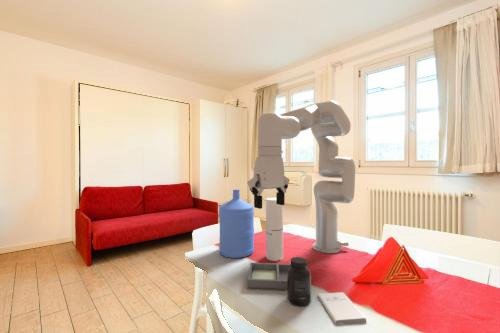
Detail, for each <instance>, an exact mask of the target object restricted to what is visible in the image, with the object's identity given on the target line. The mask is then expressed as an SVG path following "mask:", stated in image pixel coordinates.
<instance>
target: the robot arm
mask: <svg viewBox="0 0 500 333" xmlns="http://www.w3.org/2000/svg"><path fill="white" fill-rule="evenodd" d="M257 123H258V124H257V130H258V132H257V143H258V144H257V147H258V148H257V149H258V150H257V153H258V154H257V157H255V161H254V166H253V177H252V178H251V179H249V180H248V181H247V183H246V184H247V185H248V188H249V191H250V192H251V194H252V195H253V208H255V209H260V210H261V209H263V195H262V194H263V192H264V190H269V189H270V190H272V189H275V190H276V191H277V192H276V196H275V198H276V203H277V204H279V205H283V206H285V202H286V201H285V199H286V198H285V197H286V196H285V194H286V193H287V189H288V188H289V183H290V178H288V177H286V176H285V166H284V158H283V157H282V154H283V150H282V148H283V147H282V141H283V140H289V139H295V138H296V137H298V135H299V134H300V133H301V132H303V131H307V130H308V129H310V130H311V133H312V135H313V136H314V138H315V140H316V142H317V144H318V150H319V151H318V166H317V167H318V174H319V176H321V177H323V178H327V179H329V178H330V179H332V178H333V179H341V181H340V180H339V181H338V180H319V181H317V182H316V183H315V184H314V186H313V195H314V200H315V242H314V243H313V244H312V249H313V250H314V251H316V252H319V253H323V254H337V253H339V252H341V250H342V248H341V247H349V245H350V244H349V242H348V241H344V240H343V239H342V240H339V239H338V209H337V207H336V206H335V203H339V204H340V203H341V204H350V203H352V202H353V201H354V198H355V187H356V165H355V161H354V159H353V158H351V157H349V156H348V157H347V156H339V144H338V143H337V141H336V140H335V139H334V137H344V136H347V135H348V134H350V131H351V121H350V119H349V116H348V115H347V113H346V112H345V110H344V109H343V107H342V105H340V104H339V103H338V102H337V101H335V100H328V101H321V102H316V103H312V104H311V103H310V104H309V105H306V106H303V107H301V108H298V109H294V110H291V111H288V112H283V113H281V114H278V113H273V112H271V113H263V114H261V115H259V117H258V121H257Z"/></svg>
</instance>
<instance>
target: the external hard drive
mask: <svg viewBox="0 0 500 333" xmlns="http://www.w3.org/2000/svg"><path fill="white" fill-rule="evenodd" d="M317 298H318V299H319V301H320V303H321V304H322V306H323V307H324V309H325V310H326V312H327V314H328V315H329V317H331V319H332V321H333V323H334V324H335V325H339V324H338V323H345V324H354V323H355V324H356V323H357V324H358V323H367V318H366V317H365V316H364V314H363V313H362V312H361V311H360V310H359V308H358V307H356V305H355V304H354V303H353V302H352V301H351V299H350V298H348V296H347V295H346V294H345V292H325V293H318V294H317Z"/></svg>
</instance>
